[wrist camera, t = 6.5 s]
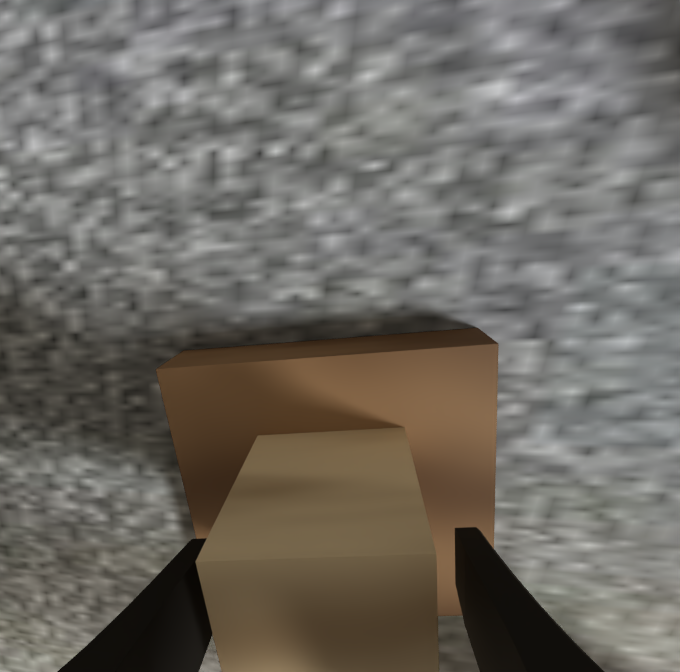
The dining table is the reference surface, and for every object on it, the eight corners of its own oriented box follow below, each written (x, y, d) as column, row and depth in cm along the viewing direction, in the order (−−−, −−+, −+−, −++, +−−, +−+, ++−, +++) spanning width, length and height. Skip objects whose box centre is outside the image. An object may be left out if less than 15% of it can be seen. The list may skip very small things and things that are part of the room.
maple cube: (410, 548, 13) (439, 722, 9) (277, 552, 14) (234, 724, 9) (404, 427, 12) (436, 553, 7) (257, 435, 12) (195, 561, 8)
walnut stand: (475, 568, 16) (492, 614, 14) (232, 577, 17) (216, 621, 15) (477, 327, 13) (498, 343, 11) (183, 350, 14) (155, 369, 12)
